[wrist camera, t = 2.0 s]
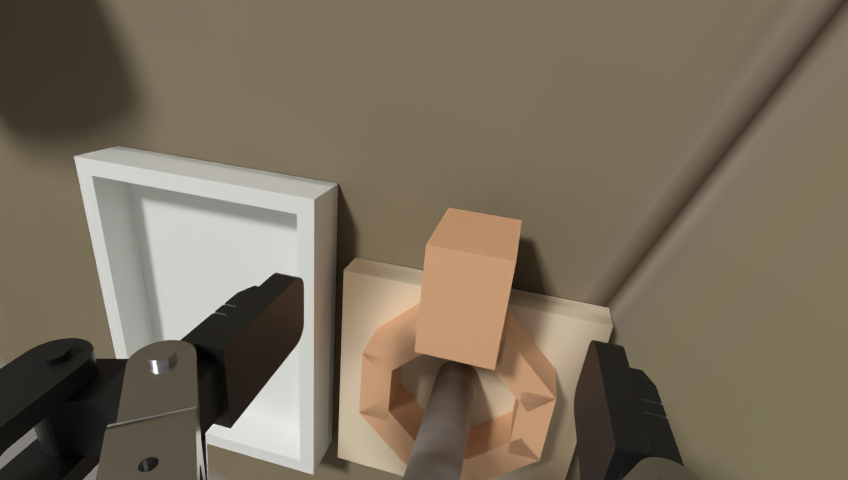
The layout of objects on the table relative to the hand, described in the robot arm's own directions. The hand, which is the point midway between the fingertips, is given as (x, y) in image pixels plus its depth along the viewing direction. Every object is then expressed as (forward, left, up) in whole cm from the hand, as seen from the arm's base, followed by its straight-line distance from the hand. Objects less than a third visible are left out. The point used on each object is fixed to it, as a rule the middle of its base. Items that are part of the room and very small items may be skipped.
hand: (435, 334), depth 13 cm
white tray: (+13, +7, -9) cm, 17 cm away
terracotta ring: (0, +5, -7) cm, 9 cm away
